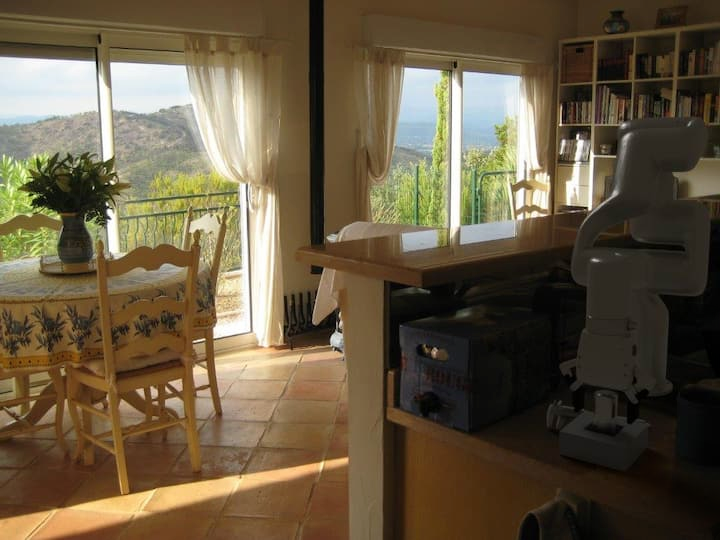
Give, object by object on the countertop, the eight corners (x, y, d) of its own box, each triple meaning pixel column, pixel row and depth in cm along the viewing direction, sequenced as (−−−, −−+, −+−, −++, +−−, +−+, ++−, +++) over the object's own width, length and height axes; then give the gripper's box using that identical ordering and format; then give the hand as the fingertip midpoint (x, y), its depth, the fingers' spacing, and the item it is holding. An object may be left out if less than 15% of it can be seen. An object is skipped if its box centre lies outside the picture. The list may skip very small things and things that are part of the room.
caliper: (548, 431, 142) (548, 401, 141) (546, 429, 144) (547, 399, 142) (651, 428, 142) (653, 398, 141) (649, 426, 143) (650, 396, 142)
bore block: (584, 432, 141) (585, 410, 140) (647, 447, 133) (648, 424, 133) (558, 454, 132) (559, 431, 131) (625, 471, 124) (626, 447, 123)
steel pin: (596, 438, 135) (599, 388, 133) (617, 444, 133) (621, 393, 131) (588, 446, 132) (591, 395, 130) (610, 452, 130) (613, 400, 127)
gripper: (665, 327, 126) (660, 419, 129) (569, 313, 136) (567, 399, 140) (651, 337, 120) (646, 434, 123) (553, 322, 131) (551, 412, 134)
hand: (604, 415), depth 131 cm, fingers open, 9 cm apart
